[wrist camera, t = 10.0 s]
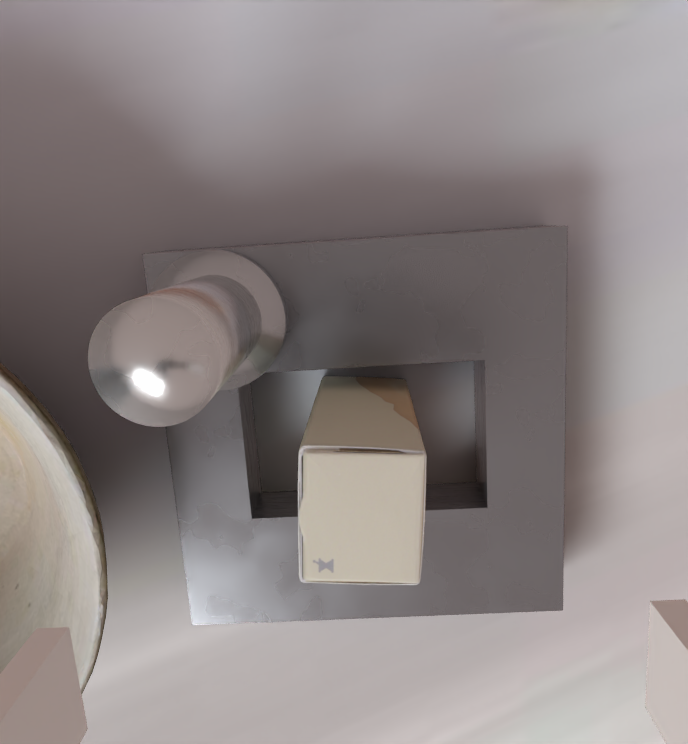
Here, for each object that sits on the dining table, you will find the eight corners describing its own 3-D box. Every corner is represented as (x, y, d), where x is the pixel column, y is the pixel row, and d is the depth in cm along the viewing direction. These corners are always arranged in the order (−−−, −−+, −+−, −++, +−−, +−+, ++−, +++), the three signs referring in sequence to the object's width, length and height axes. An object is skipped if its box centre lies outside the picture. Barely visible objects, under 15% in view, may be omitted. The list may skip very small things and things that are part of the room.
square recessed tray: (206, 591, 35) (192, 625, 32) (163, 251, 31) (142, 254, 28) (545, 576, 34) (562, 610, 31) (547, 225, 30) (567, 225, 27)
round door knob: (179, 374, 32) (72, 462, 20) (163, 251, 31) (39, 269, 19) (299, 367, 32) (261, 452, 20) (289, 242, 30) (242, 256, 19)
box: (402, 473, 33) (421, 596, 22) (318, 470, 33) (295, 592, 22) (407, 372, 32) (429, 450, 21) (319, 370, 32) (296, 446, 21)
